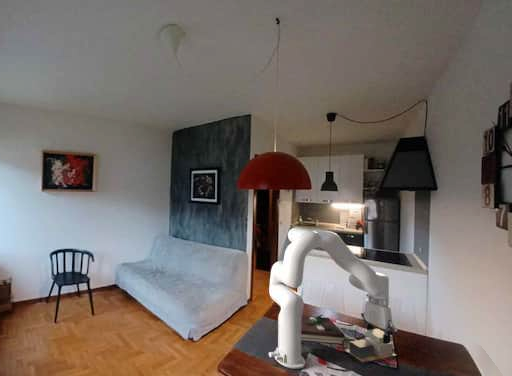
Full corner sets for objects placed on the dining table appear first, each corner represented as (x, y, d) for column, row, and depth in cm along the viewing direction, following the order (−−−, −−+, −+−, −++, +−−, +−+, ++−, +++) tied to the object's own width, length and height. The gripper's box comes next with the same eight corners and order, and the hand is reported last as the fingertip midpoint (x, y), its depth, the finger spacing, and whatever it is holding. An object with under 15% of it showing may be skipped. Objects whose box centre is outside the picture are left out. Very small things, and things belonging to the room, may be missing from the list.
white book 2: (379, 351, 118) (379, 345, 118) (364, 342, 125) (364, 337, 125) (392, 348, 120) (392, 343, 120) (377, 340, 127) (377, 335, 127)
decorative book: (275, 311, 149) (332, 315, 144) (275, 324, 149) (332, 329, 144) (285, 328, 130) (351, 334, 125) (285, 344, 130) (351, 350, 125)
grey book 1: (360, 353, 117) (360, 347, 117) (349, 346, 121) (349, 341, 121) (373, 350, 119) (373, 345, 119) (363, 344, 123) (363, 339, 123)
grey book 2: (359, 358, 117) (360, 353, 117) (349, 351, 121) (349, 346, 121) (373, 355, 119) (373, 350, 119) (363, 349, 123) (363, 344, 123)
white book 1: (379, 343, 118) (379, 338, 118) (364, 335, 125) (364, 330, 125) (392, 341, 120) (392, 335, 120) (377, 333, 127) (377, 328, 127)
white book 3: (379, 356, 118) (379, 351, 118) (364, 347, 125) (364, 342, 125) (392, 353, 120) (392, 348, 120) (377, 345, 127) (377, 340, 127)
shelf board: (362, 365, 114) (362, 361, 114) (344, 352, 123) (344, 349, 123) (396, 358, 119) (396, 355, 119) (376, 346, 128) (376, 343, 128)
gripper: (354, 294, 130) (354, 329, 130) (392, 309, 113) (391, 350, 113) (366, 292, 132) (366, 328, 132) (405, 307, 115) (404, 348, 115)
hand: (378, 338), depth 122 cm, fingers closed on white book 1, 6 cm apart
